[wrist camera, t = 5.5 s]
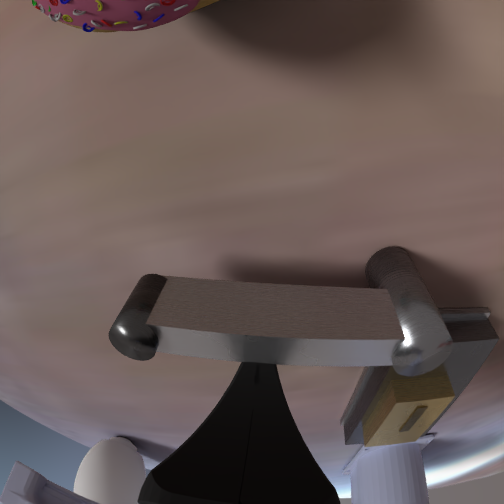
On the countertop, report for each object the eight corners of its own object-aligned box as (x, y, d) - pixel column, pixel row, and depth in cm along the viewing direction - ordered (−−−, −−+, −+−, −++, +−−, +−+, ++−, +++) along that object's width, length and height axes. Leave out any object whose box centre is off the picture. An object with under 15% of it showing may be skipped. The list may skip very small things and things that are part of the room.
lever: (162, 274, 16) (118, 360, 11) (156, 233, 14) (100, 315, 9) (403, 288, 15) (438, 377, 10) (416, 248, 14) (465, 334, 9)
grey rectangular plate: (418, 414, 22) (423, 437, 20) (340, 420, 22) (341, 446, 20) (487, 307, 15) (503, 334, 13) (388, 307, 16) (399, 341, 14)
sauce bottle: (162, 445, 29) (128, 582, 13) (148, 458, 33) (118, 571, 17) (97, 416, 27) (49, 552, 12) (93, 434, 31) (54, 546, 16)
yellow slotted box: (411, 423, 18) (415, 442, 17) (362, 427, 18) (364, 448, 17) (448, 375, 15) (455, 397, 14) (391, 380, 15) (396, 404, 14)
